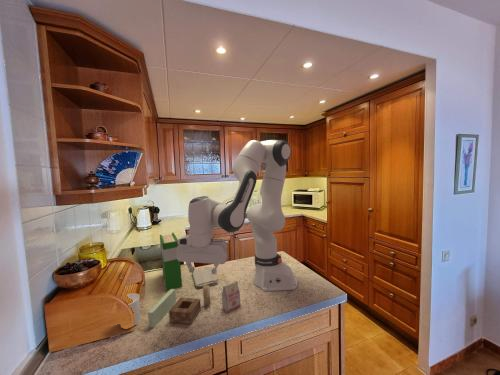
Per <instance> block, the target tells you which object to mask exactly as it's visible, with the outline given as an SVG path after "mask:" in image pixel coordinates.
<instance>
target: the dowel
mask: <svg viewBox="0 0 500 375" xmlns="http://www.w3.org/2000/svg"><path fill="white" fill-rule="evenodd" d="M210 287H211V286H209V285H205V286H203V288H202V295H203V305H204V307H209V306H211V303H212V302H211V290H210V289H211V288H210Z"/></svg>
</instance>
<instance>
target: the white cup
mask: <svg viewBox="0 0 500 375" xmlns="http://www.w3.org/2000/svg"><path fill="white" fill-rule="evenodd" d="M126 295H127V296H128V297H129V298H130V299H132V300H133V302H132V303H130V304H128V305H129V306H130V307H131V308H132V310H133V312H134V316H135V325H136V326H138V324H139V323H140V322H139V321H141V302H140V300H141V299H140V294H139V293H136V292H135V293H129V294H126Z"/></svg>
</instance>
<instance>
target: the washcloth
mask: <svg viewBox="0 0 500 375" xmlns="http://www.w3.org/2000/svg"><path fill="white" fill-rule="evenodd" d="M213 268H214V267H207V268H205V269H199V270H194V272H193V273H191V275H192V280H193V282H194V285H195V289H196V290H198V289H203V286H205V285H209V287H212V286H216V285H218V284H219V282H218V280H219V278H218V276H217V273H216V274H212V272H211V270H212V269H213Z"/></svg>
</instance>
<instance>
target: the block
mask: <svg viewBox="0 0 500 375" xmlns="http://www.w3.org/2000/svg"><path fill="white" fill-rule="evenodd" d="M201 304H202V303H201V299H200V298H192V297H179V299H178V300H176V303H175V304H174V305H173V306H172V307H171V308H170V310H169V311H168V315H169V322H170V323H177V324H187V325H192V324H193V322H194V321H195V319H196V317H197V316H198V314H199V313H200V311H201V310H202V306H201Z"/></svg>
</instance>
